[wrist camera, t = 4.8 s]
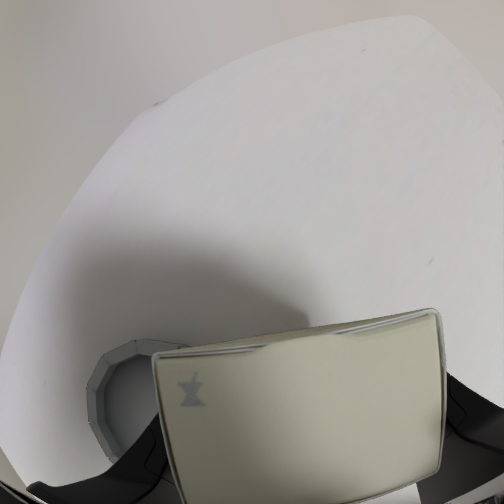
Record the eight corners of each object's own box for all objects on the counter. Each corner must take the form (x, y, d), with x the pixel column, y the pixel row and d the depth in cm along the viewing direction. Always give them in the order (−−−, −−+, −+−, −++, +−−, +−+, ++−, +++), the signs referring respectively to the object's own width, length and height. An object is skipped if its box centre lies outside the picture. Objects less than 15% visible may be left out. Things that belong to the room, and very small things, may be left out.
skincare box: (247, 402, 15) (170, 515, 4) (238, 337, 17) (133, 350, 5) (349, 387, 15) (446, 477, 3) (341, 321, 16) (445, 301, 4)
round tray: (194, 506, 15) (187, 517, 13) (81, 415, 18) (69, 419, 17) (282, 408, 17) (282, 415, 15) (142, 308, 20) (130, 306, 19)
